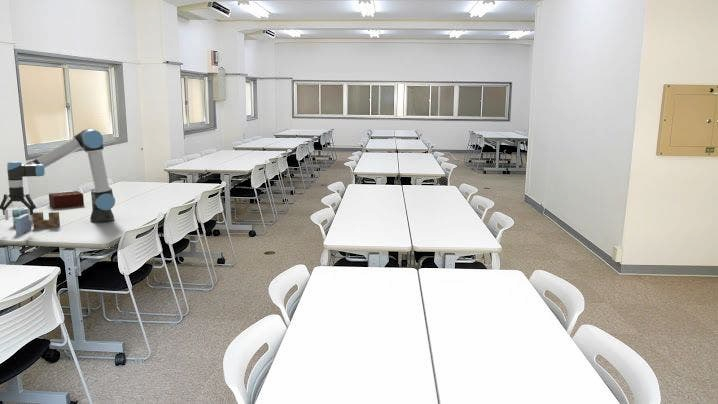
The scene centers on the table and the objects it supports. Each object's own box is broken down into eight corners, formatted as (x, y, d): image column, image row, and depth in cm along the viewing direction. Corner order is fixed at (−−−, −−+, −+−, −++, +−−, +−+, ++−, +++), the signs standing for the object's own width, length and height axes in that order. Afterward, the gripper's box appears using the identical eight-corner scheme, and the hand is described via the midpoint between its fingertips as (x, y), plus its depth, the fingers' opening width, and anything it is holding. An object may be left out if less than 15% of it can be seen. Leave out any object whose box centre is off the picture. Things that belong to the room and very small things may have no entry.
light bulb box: (21, 226, 347) (20, 210, 345) (12, 225, 348) (11, 209, 346) (34, 222, 357) (33, 207, 355) (26, 222, 359) (24, 206, 357)
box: (78, 202, 426) (77, 190, 424) (84, 206, 415) (83, 193, 413) (49, 205, 412) (48, 193, 410) (54, 209, 401) (53, 196, 399)
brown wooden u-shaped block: (60, 226, 349) (58, 211, 347) (58, 227, 346) (57, 212, 345) (35, 226, 347) (34, 212, 345) (33, 227, 344) (32, 213, 342)
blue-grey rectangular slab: (26, 228, 341) (25, 213, 340) (31, 228, 342) (30, 213, 340) (16, 234, 328) (14, 218, 326) (21, 234, 328) (20, 218, 326)
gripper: (40, 185, 331) (42, 218, 334) (-3, 185, 326) (-1, 218, 330) (35, 187, 323) (37, 221, 327) (-10, 187, 319) (-7, 221, 323)
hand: (18, 220), depth 329 cm, fingers open, 13 cm apart
